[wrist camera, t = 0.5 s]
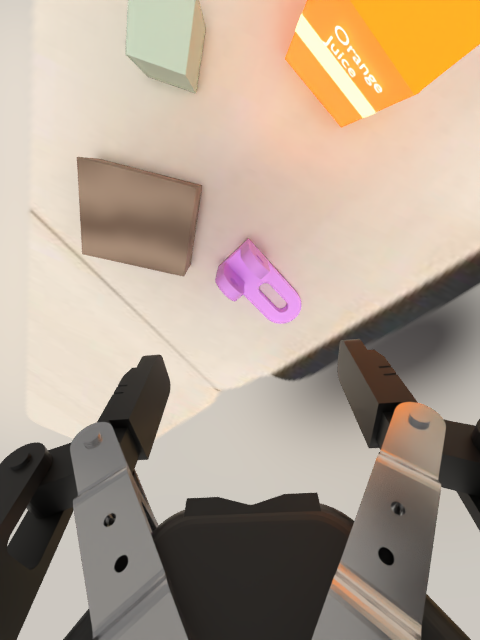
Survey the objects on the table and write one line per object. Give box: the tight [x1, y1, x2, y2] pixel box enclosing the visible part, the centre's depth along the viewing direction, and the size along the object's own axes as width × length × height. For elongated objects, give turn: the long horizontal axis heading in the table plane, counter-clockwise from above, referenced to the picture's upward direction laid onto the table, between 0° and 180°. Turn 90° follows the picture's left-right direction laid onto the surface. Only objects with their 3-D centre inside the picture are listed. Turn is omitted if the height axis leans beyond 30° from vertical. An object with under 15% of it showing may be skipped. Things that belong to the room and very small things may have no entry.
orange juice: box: [285, 0, 480, 127], centre depth 18 cm, size 8×9×20 cm
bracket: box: [215, 238, 301, 323], centre depth 35 cm, size 13×6×7 cm, turn 43°
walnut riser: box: [77, 157, 202, 276], centre depth 32 cm, size 10×12×5 cm
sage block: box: [126, 0, 206, 93], centre depth 24 cm, size 5×5×6 cm
